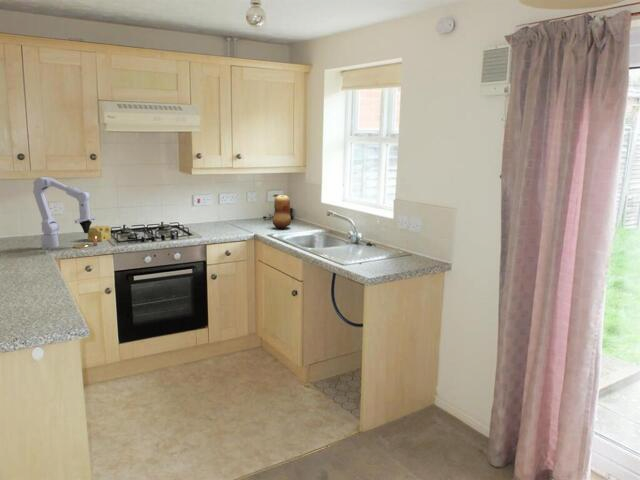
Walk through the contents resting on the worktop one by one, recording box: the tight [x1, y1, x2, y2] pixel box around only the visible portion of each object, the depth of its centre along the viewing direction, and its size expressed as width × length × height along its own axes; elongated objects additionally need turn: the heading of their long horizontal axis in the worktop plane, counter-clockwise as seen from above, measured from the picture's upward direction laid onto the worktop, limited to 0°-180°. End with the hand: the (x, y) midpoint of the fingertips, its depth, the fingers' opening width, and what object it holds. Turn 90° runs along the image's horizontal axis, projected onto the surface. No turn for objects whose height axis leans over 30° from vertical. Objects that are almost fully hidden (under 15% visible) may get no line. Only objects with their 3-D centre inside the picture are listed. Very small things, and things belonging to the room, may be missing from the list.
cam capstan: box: [73, 236, 98, 249], centre depth 323 cm, size 14×9×6 cm, turn 119°
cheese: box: [87, 224, 112, 243], centre depth 342 cm, size 10×11×10 cm
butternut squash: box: [272, 194, 292, 229], centre depth 390 cm, size 14×13×25 cm
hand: (86, 233), depth 321 cm, fingers closed
